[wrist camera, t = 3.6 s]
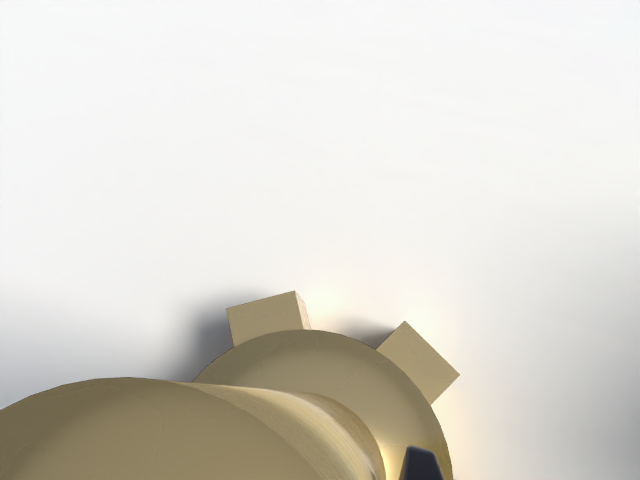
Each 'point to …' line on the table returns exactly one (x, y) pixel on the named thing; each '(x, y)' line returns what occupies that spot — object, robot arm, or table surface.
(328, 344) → the planet gear
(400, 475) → the robot arm
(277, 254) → the table surface
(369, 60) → the table surface
